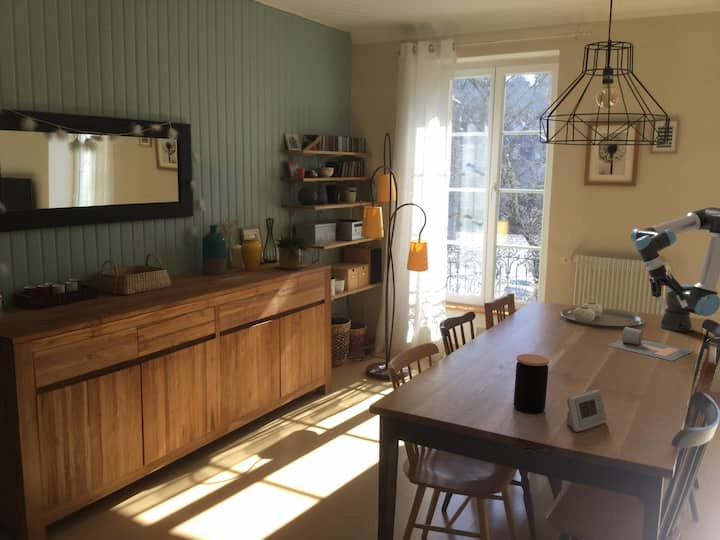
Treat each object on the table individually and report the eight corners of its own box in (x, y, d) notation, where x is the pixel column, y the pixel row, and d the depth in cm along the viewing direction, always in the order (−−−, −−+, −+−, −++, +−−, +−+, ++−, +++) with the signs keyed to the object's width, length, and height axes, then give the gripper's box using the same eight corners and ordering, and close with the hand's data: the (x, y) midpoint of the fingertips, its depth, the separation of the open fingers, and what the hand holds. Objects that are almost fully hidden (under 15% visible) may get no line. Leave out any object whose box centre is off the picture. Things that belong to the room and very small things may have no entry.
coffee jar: (550, 408, 227) (554, 358, 224) (535, 417, 219) (540, 365, 216) (522, 400, 234) (526, 351, 231) (507, 408, 226) (511, 358, 223)
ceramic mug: (639, 347, 306) (641, 331, 305) (621, 344, 310) (623, 328, 309) (643, 342, 315) (645, 326, 313) (625, 339, 319) (626, 324, 318)
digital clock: (574, 434, 207) (577, 402, 205) (555, 423, 215) (558, 392, 213) (614, 427, 213) (617, 396, 211) (594, 417, 221) (597, 386, 219)
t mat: (629, 337, 324) (629, 336, 324) (693, 351, 303) (693, 351, 303) (606, 345, 308) (606, 345, 308) (672, 361, 286) (672, 360, 286)
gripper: (633, 273, 323) (652, 312, 323) (666, 267, 299) (687, 309, 299) (645, 267, 325) (664, 306, 325) (679, 260, 301) (699, 302, 300)
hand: (675, 307), depth 312 cm, fingers open, 13 cm apart
